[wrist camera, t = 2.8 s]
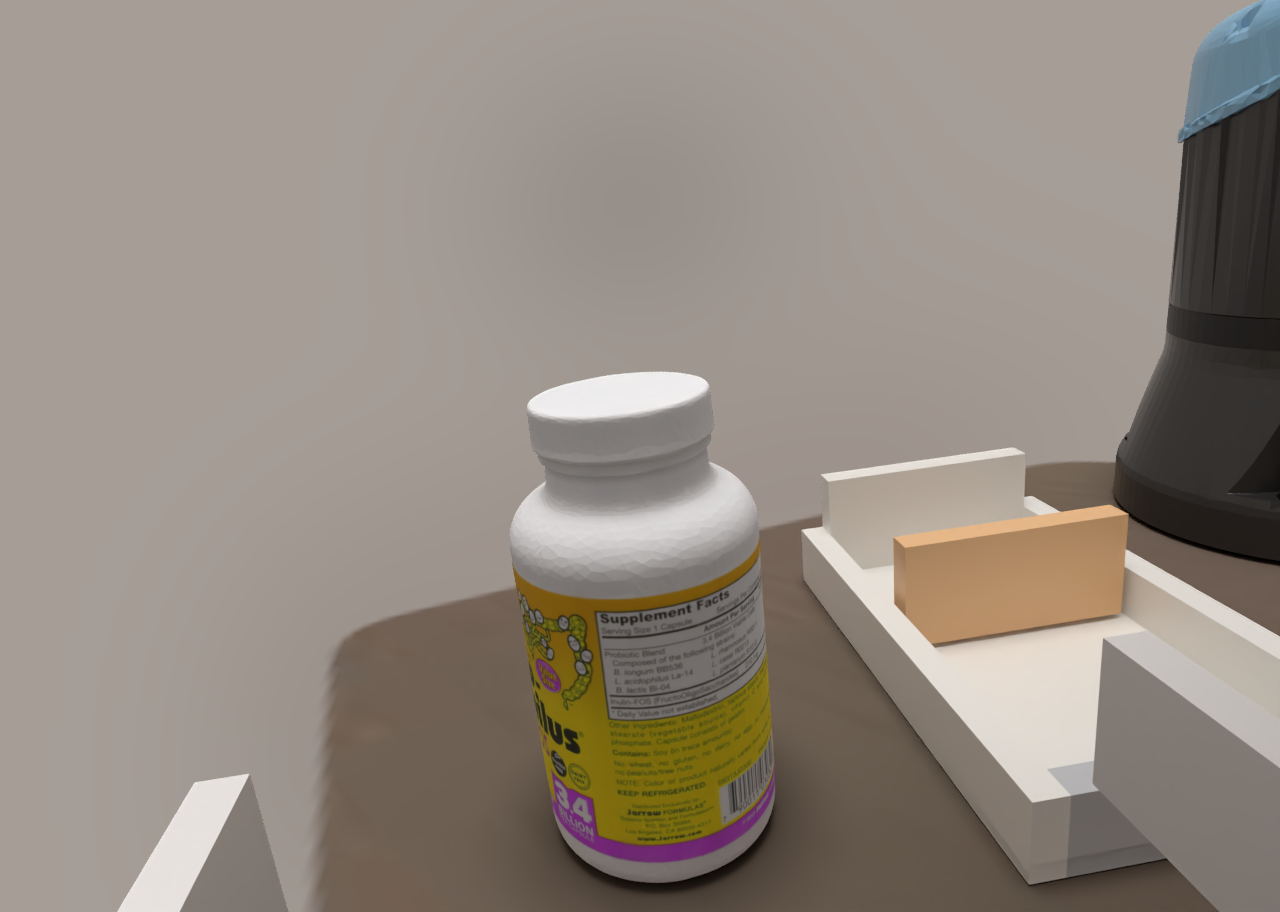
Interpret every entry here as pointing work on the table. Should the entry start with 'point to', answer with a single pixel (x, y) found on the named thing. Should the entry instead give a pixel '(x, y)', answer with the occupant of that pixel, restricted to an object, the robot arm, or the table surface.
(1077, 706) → the tray
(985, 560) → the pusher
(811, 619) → the table surface
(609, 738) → the supplement bottle
